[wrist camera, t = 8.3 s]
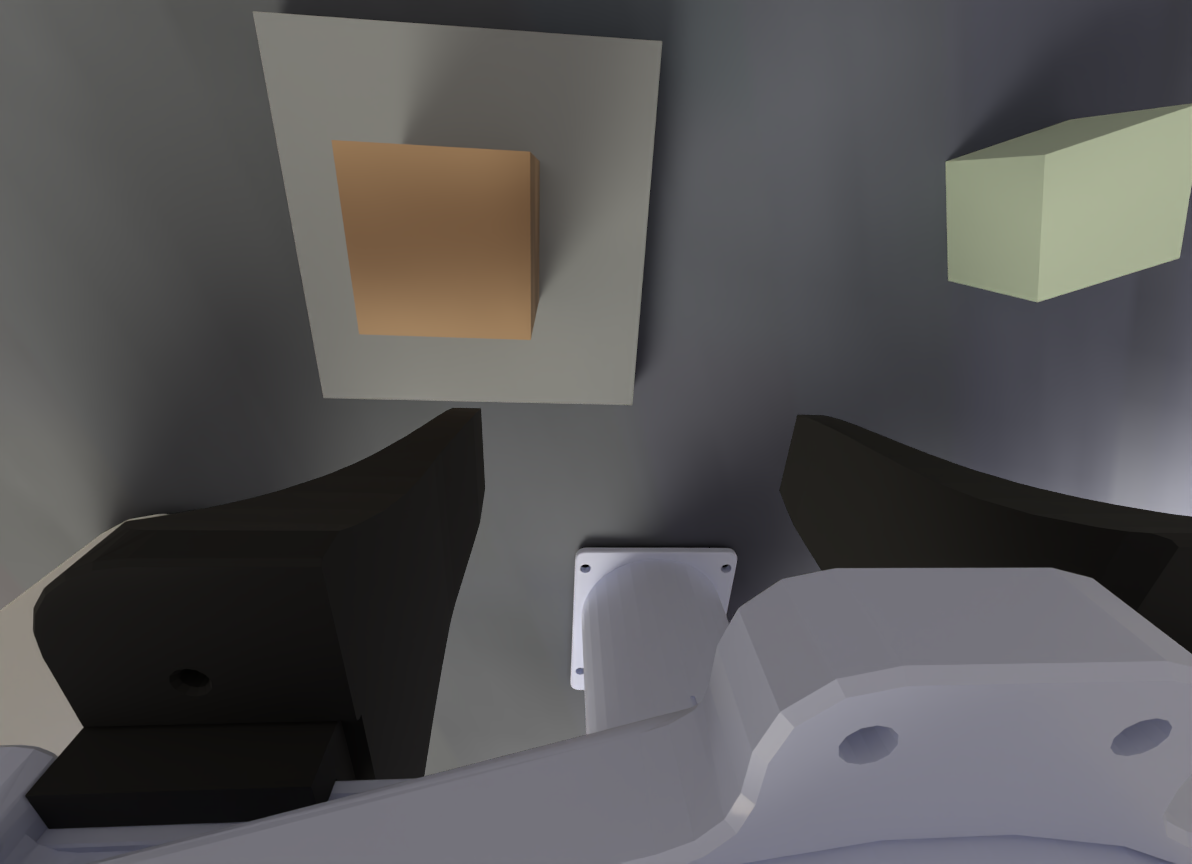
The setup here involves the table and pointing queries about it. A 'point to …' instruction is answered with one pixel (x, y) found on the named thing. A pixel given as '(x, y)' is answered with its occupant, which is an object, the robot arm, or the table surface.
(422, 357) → the grey square tile
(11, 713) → the potion bottle
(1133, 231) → the pale green block
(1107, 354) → the table surface
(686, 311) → the table surface
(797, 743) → the robot arm
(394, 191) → the walnut block
